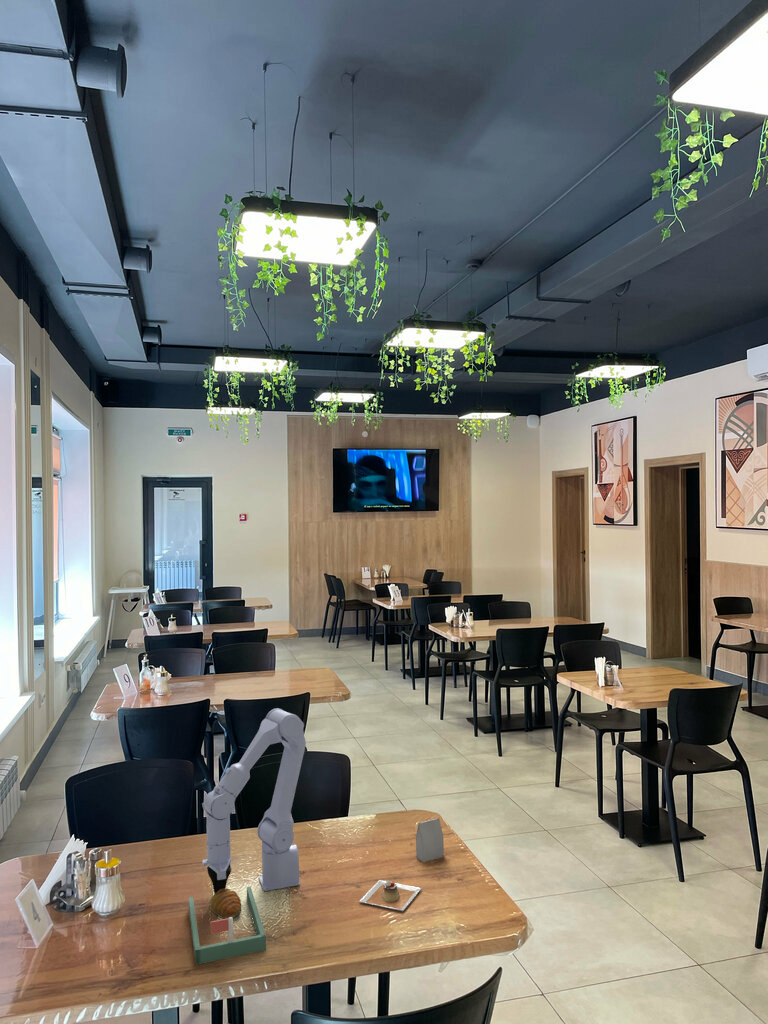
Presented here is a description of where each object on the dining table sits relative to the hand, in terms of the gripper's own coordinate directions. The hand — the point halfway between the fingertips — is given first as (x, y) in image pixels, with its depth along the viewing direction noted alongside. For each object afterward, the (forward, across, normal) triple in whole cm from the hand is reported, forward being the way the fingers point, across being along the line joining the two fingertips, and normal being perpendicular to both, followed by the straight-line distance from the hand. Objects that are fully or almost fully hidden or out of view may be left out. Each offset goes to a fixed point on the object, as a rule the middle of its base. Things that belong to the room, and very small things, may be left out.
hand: (219, 896), depth 178 cm
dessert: (+2, +13, +41) cm, 43 cm away
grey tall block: (+2, -4, +58) cm, 58 cm away
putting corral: (+1, +14, 0) cm, 14 cm away
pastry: (+1, +5, +1) cm, 5 cm away
